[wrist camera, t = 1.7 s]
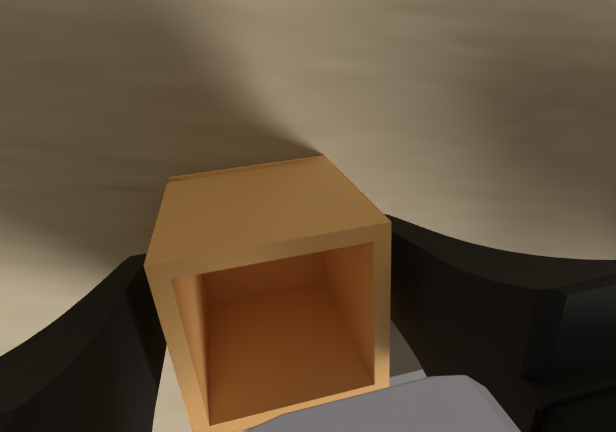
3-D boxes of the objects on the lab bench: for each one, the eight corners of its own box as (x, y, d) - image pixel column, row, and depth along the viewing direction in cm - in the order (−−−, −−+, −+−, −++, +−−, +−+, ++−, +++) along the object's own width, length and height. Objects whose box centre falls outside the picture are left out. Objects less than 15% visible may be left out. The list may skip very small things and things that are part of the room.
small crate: (323, 154, 13) (391, 221, 8) (330, 279, 15) (389, 391, 10) (169, 175, 12) (143, 265, 7) (199, 305, 14) (195, 441, 10)
